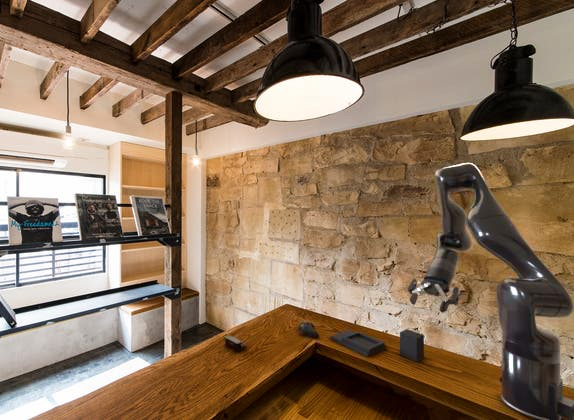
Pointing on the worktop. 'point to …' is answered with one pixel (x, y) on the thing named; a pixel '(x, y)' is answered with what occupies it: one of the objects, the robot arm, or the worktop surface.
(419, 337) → the dark grey rectangular block
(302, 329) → the game controller
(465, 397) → the worktop surface
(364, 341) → the pad
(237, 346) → the wireless earbuds
